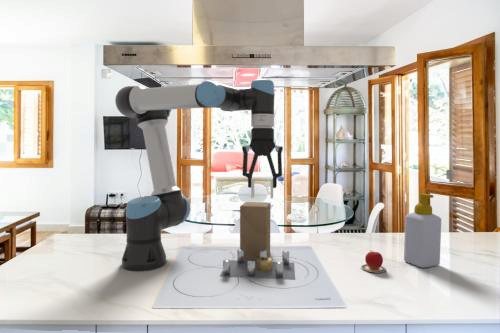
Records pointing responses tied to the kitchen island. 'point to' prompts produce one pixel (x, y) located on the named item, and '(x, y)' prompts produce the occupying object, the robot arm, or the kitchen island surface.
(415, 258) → the soap bottle
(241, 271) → the grey flat plate
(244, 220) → the wooden block
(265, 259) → the nut
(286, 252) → the set of silver pegs
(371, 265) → the apple
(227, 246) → the kitchen island surface
